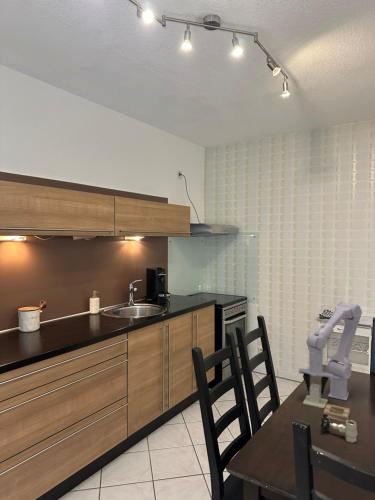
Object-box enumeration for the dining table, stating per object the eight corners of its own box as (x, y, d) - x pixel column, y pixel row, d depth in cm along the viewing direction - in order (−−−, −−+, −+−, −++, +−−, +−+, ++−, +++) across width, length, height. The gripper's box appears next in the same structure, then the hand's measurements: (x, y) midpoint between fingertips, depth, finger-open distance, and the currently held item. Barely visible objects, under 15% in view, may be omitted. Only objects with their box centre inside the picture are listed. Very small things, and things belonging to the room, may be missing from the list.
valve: (359, 438, 128) (326, 427, 136) (359, 420, 128) (326, 410, 136) (354, 446, 123) (320, 434, 131) (354, 427, 123) (320, 416, 131)
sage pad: (307, 396, 164) (307, 395, 164) (327, 400, 159) (327, 399, 159) (302, 403, 156) (302, 402, 156) (324, 408, 151) (324, 407, 151)
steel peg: (311, 398, 160) (311, 383, 160) (320, 400, 158) (321, 385, 158) (309, 401, 157) (309, 386, 157) (319, 403, 155) (319, 388, 155)
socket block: (327, 408, 152) (327, 403, 152) (349, 413, 147) (349, 408, 147) (323, 416, 144) (323, 412, 144) (347, 422, 139) (347, 417, 139)
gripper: (297, 361, 158) (297, 391, 158) (331, 367, 150) (331, 398, 150) (300, 357, 164) (300, 386, 164) (334, 362, 156) (333, 393, 156)
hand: (315, 391), depth 158 cm, fingers open, 5 cm apart
